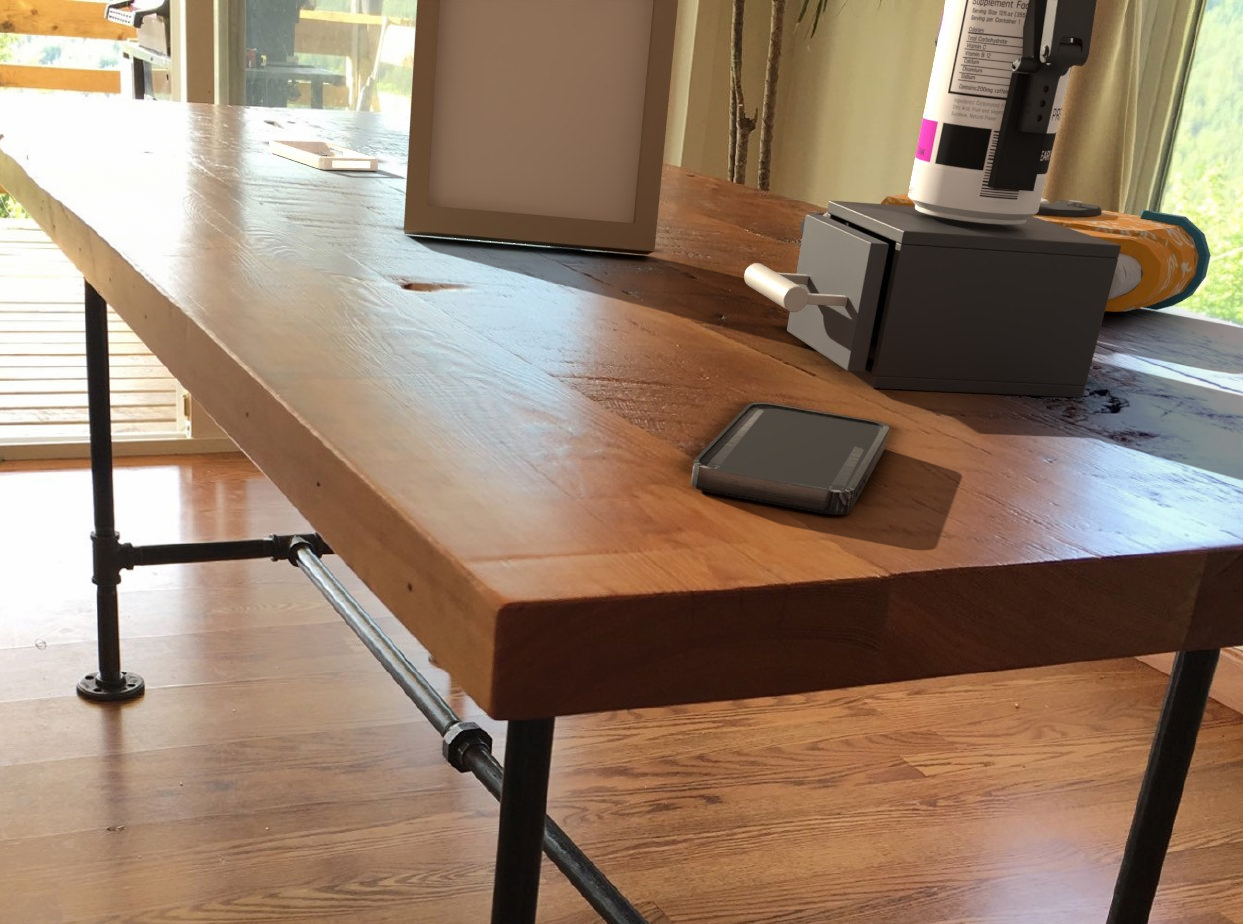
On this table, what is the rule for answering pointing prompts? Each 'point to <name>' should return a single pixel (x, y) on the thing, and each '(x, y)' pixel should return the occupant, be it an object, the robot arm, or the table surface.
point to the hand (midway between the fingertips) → (978, 178)
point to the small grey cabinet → (985, 303)
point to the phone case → (310, 151)
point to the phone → (792, 458)
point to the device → (1131, 250)
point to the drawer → (833, 289)
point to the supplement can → (974, 116)
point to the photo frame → (540, 121)
